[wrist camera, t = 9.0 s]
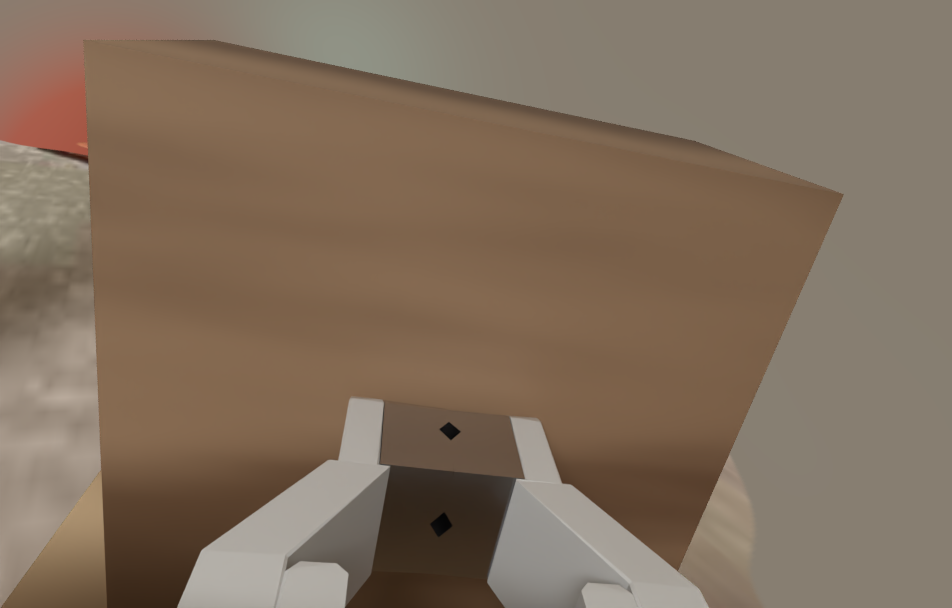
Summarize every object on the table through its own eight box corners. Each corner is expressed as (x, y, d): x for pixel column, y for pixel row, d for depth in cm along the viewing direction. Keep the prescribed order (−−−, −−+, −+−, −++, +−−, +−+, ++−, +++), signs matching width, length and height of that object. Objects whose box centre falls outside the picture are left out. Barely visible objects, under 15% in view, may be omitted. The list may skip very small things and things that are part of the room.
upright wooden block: (633, 669, 12) (843, 194, 9) (108, 642, 11) (83, 39, 7) (545, 418, 21) (633, 119, 17) (241, 381, 19) (262, 40, 15)
